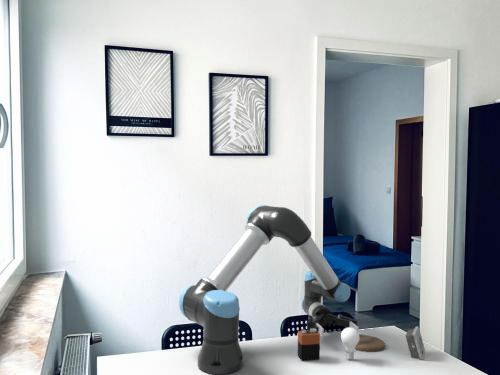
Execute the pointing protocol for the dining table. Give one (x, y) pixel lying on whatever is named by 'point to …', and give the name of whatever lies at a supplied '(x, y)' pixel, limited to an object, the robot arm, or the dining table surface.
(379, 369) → the dining table surface
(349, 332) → the lightbulb
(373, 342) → the board
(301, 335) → the battery
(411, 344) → the electrical switch
